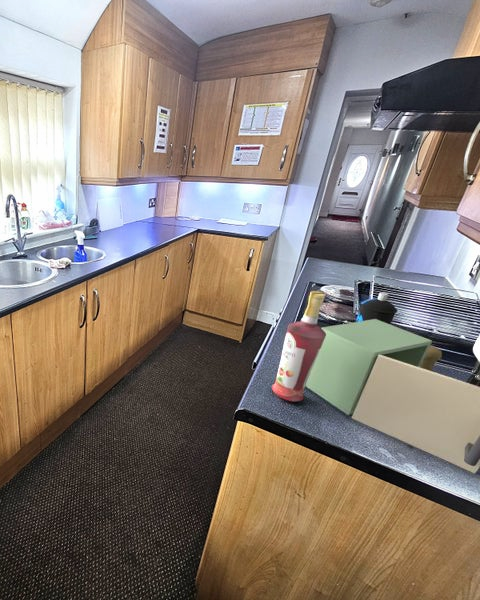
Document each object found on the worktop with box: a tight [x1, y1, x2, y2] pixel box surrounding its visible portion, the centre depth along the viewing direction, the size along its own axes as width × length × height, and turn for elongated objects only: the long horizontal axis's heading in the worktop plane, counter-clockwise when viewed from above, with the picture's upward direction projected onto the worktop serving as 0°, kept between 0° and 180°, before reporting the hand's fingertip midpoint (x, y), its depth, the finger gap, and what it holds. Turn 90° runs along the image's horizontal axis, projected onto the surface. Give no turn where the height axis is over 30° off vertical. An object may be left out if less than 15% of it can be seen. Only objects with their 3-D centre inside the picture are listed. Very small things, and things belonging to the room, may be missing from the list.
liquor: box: [271, 290, 326, 403], centre depth 76 cm, size 7×7×28 cm
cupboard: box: [305, 319, 433, 416], centre depth 81 cm, size 12×19×17 cm, turn 107°
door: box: [351, 355, 480, 474], centre depth 64 cm, size 6×19×17 cm, turn 40°
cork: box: [420, 344, 443, 372], centre depth 86 cm, size 6×6×11 cm
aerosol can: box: [354, 291, 398, 325], centre depth 98 cm, size 8×8×20 cm
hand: (473, 396), depth 62 cm, fingers closed
